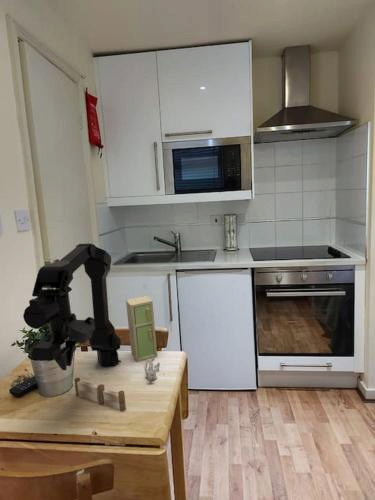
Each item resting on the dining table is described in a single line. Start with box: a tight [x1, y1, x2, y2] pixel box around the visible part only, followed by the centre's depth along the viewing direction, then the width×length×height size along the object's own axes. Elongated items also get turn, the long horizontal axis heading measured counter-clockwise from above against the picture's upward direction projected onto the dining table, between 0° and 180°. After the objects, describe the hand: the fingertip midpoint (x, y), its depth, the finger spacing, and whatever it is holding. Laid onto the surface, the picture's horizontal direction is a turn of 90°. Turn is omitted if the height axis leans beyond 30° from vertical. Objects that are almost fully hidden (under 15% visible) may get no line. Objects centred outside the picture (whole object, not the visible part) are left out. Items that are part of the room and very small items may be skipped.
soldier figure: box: [144, 357, 166, 384], centre depth 111 cm, size 8×5×12 cm
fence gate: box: [73, 377, 99, 403], centre depth 100 cm, size 9×2×5 cm, turn 61°
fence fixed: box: [98, 384, 127, 412], centre depth 96 cm, size 9×2×6 cm, turn 61°
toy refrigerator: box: [125, 295, 158, 363], centre depth 123 cm, size 8×7×21 cm
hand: (66, 367), depth 94 cm, fingers closed
